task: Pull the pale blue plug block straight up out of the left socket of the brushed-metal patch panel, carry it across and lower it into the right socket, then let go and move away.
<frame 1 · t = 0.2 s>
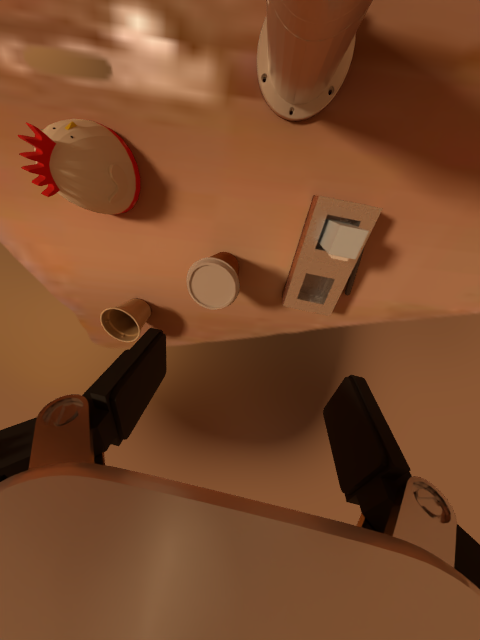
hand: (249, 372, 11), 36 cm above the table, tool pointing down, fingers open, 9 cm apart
disposable coffee cup: (225, 266, 45), on the table
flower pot: (140, 307, 54), on the table
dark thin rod: (356, 259, 40), on the table
panel: (319, 257, 41), on the table
plug: (331, 231, 38), point 1 cm above the table, touching panel
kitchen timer: (106, 172, 39), on the table
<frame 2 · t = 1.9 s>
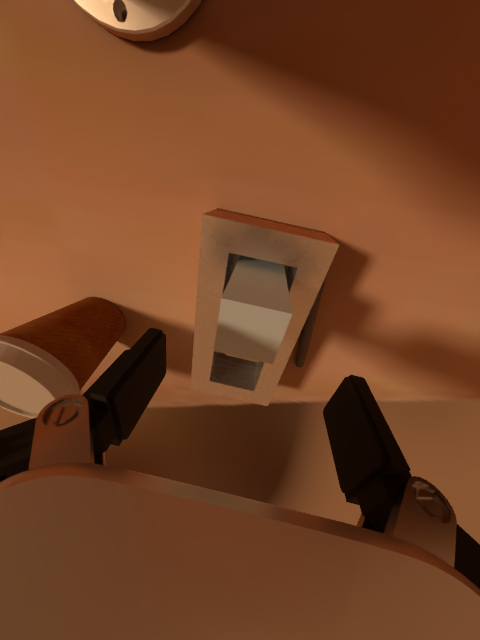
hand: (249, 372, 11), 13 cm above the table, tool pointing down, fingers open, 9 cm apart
disposable coffee cup: (104, 316, 28), on the table
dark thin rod: (309, 317, 24), on the table
panel: (248, 311, 24), on the table
plug: (257, 274, 21), point 1 cm above the table, touching panel
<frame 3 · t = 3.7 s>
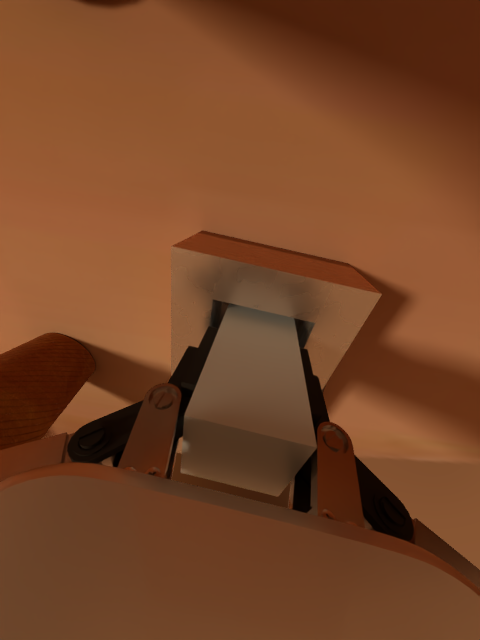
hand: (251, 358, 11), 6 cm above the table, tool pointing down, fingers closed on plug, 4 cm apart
disposable coffee cup: (69, 354, 23), on the table
panel: (245, 355, 19), on the table
plug: (256, 316, 15), point 1 cm above the table, touching gripper, panel
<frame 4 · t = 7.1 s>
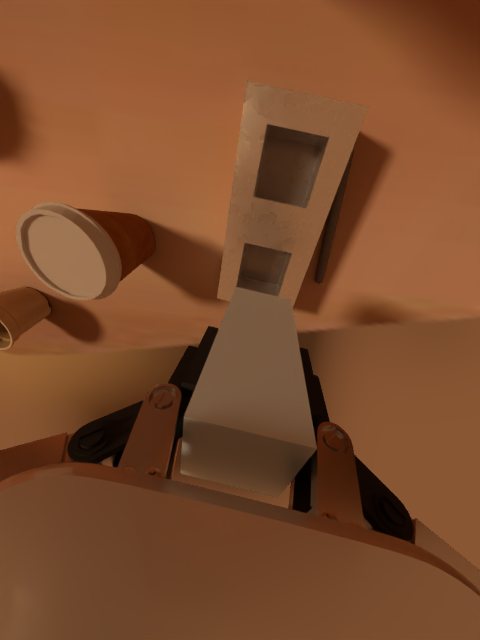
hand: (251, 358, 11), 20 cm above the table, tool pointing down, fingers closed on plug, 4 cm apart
disposable coffee cup: (135, 237, 30), on the table
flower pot: (36, 300, 39), on the table
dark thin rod: (330, 225, 25), on the table
panel: (273, 221, 26), on the table
plug: (256, 316, 15), point 16 cm above the table, touching gripper
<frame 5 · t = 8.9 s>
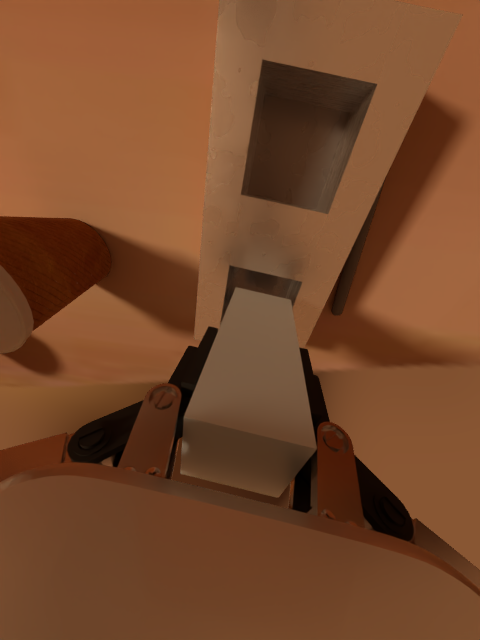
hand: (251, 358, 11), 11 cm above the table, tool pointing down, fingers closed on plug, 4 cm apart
disposable coffee cup: (84, 250, 22), on the table
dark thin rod: (357, 236, 17), on the table
panel: (273, 230, 18), on the table
plug: (256, 316, 15), point 6 cm above the table, touching gripper
when the fingers open (7 cm above the table, at t = 10.7 s): plug drops 1 cm, resting on panel.
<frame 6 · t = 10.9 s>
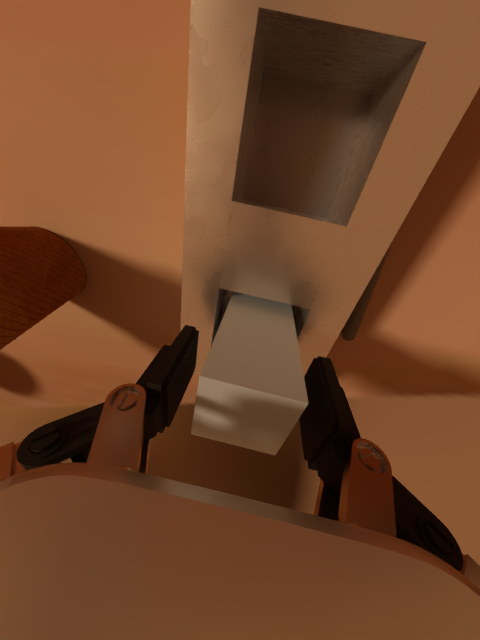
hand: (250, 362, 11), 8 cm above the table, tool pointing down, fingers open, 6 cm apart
disposable coffee cup: (54, 263, 19), on the table
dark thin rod: (375, 249, 14), on the table
panel: (274, 242, 15), on the table
plug: (257, 306, 17), point 1 cm above the table, touching panel
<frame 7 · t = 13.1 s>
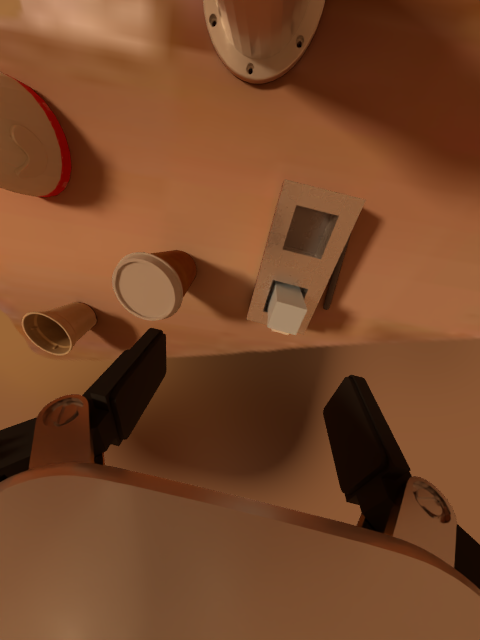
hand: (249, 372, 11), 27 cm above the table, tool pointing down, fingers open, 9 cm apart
disposable coffee cup: (180, 267, 37), on the table
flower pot: (84, 313, 45), on the table
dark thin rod: (336, 266, 33), on the table
panel: (292, 261, 34), on the table
plug: (283, 291, 35), point 1 cm above the table, touching panel
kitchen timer: (28, 143, 31), on the table
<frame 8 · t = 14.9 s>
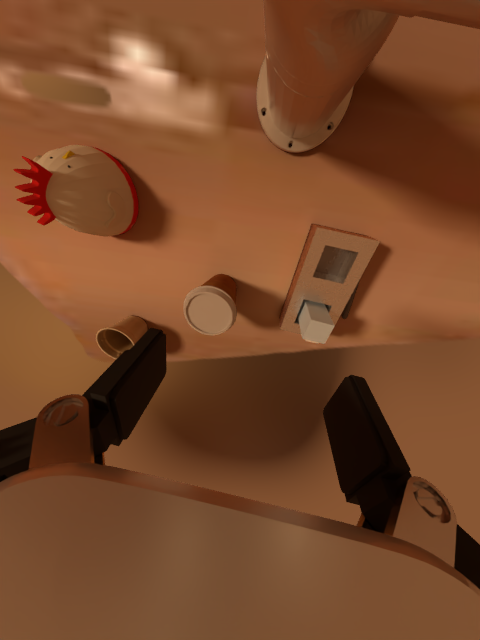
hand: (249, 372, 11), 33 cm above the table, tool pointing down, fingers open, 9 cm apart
disposable coffee cup: (222, 287, 45), on the table
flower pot: (137, 324, 54), on the table
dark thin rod: (353, 285, 41), on the table
panel: (317, 281, 41), on the table
plug: (309, 305, 43), point 1 cm above the table, touching panel
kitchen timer: (103, 195, 38), on the table
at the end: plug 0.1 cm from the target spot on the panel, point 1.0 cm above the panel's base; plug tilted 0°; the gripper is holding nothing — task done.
